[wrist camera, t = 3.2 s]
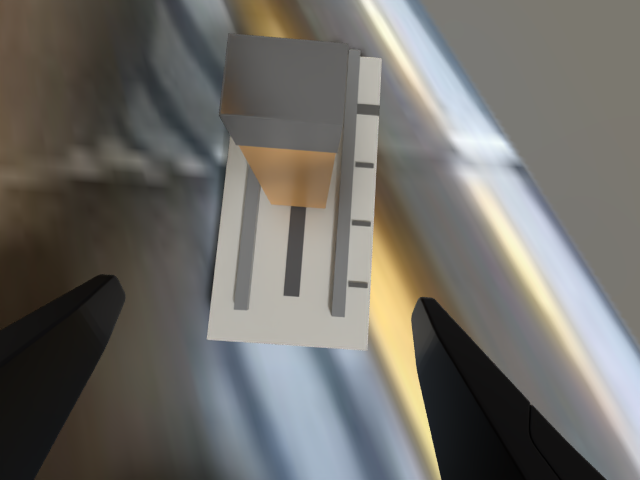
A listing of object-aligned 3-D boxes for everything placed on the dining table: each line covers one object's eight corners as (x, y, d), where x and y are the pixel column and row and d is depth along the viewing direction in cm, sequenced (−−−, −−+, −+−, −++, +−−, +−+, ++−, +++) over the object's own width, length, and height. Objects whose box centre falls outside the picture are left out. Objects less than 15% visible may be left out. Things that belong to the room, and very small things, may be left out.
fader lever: (326, 209, 20) (343, 124, 9) (270, 205, 20) (218, 115, 9) (328, 170, 20) (348, 43, 9) (274, 166, 20) (228, 33, 9)
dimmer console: (360, 342, 21) (369, 352, 18) (219, 332, 21) (203, 341, 18) (374, 80, 24) (383, 52, 21) (247, 70, 24) (238, 39, 21)
